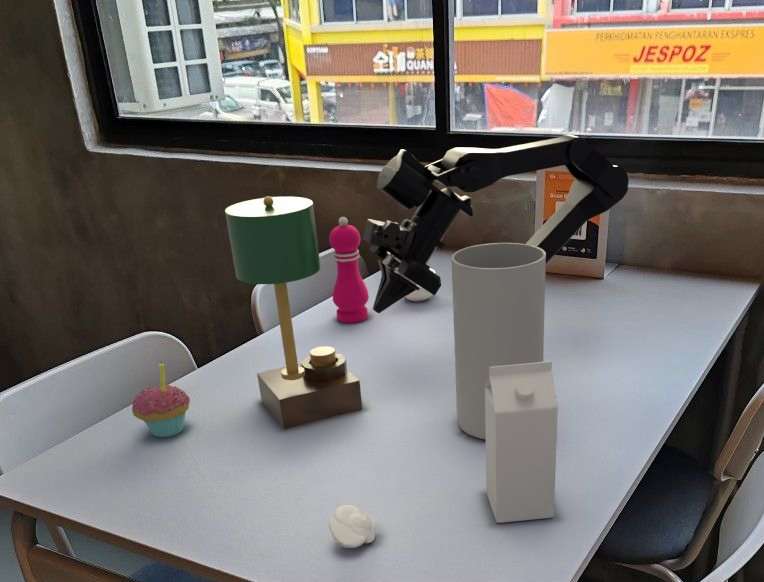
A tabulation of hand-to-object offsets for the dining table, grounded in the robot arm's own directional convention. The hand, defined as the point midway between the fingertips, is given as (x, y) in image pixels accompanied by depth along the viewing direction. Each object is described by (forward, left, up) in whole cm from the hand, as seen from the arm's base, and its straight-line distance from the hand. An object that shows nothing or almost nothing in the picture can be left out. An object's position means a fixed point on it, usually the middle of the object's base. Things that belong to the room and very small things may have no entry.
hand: (375, 311), depth 132 cm
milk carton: (-34, +29, -13) cm, 47 cm away
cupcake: (+24, +26, -13) cm, 38 cm away
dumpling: (-18, +43, -13) cm, 49 cm away
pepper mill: (+20, -28, -13) cm, 36 cm away
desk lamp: (+7, +16, -5) cm, 18 cm away
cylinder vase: (-24, +8, -13) cm, 28 cm away
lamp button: (+5, +9, -6) cm, 12 cm away
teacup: (+12, -44, -13) cm, 47 cm away
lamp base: (+7, +11, -12) cm, 18 cm away
